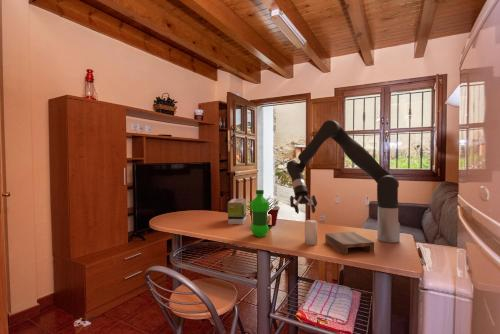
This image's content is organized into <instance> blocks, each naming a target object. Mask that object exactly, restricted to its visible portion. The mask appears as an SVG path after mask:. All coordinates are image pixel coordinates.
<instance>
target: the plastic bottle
mask: <svg viewBox="0 0 500 334" xmlns="http://www.w3.org/2000/svg"><path fill="white" fill-rule="evenodd" d="M264 191H265V190H264V189H256V190H255V194H256V196H255V198H253V199H252V200H251V201H250V205H249V207H250V210H251V211H252V224H251V227H250V231H251V232H252V234H254V235H255V237H258V238H261V237H266V235H267V234H268V233H269V231H270V226H268V224H267V210H268V209H269V205H270V202H269V201H268V200H267V198H265V197H264V195H263V194H264Z"/></svg>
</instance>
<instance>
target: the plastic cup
mask: <svg viewBox="0 0 500 334" xmlns="http://www.w3.org/2000/svg"><path fill="white" fill-rule="evenodd" d="M274 206H275V207H274V208H273V209H271V210H270V211H269V212H268V214H271V215H272V226H271V227H275V226H276V225H277V220H278V214H279V210H280V206H278V205H274Z"/></svg>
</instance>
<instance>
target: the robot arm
mask: <svg viewBox="0 0 500 334" xmlns="http://www.w3.org/2000/svg"><path fill="white" fill-rule="evenodd" d="M329 138H330V139H332V140H333V141H334V142H336V143H337V144H338V145H339V147H340V148H341V150H342V151H343V152H344V154H345V156H347V158H348V159H349V160H350V161H351V162H352V163H353V164H354V165H356V167H358V168H359V169H361V170H362V171H363V172H365V173H367V174H368V175H369V177H371V178H372V179H373V180H374V182H376V201H377V240H378V241H379V242H383V243H389V244H391V243H392V244H394V243H398V242H400V239H401V238H400V236H401V235H400V234H401V224H400V222H399V186H400V185H399V184H400V182H399V180H398V179H397V177H395V176H394V175H393V174H391V173H390V172H388V170H386V169H385V168H384V167H382V165H380V164H379V162H378V161H377V160H376V159H375V158H374V156H372V154H371V153H370V152H368V151H367V150H366V148H364V146H362V145H361V144H360V143H359V142H357V140H355V139H354V138H353V137H351V136H350V135H349V134H348V133H347V131H345V129H344V128H343V127H342V125H341V124H340V123H339V122H338V121H336V120H332V119H329V120H326V121H324V123H322V125H321V126H320V127H319V129H318V131H317V133H316V134H315V135H314V137H313V138H312V139H311V141H310V142H309V143H308V144H307V145H306V146H305V148H304V149H303V150H302V151H300V152H299V154H298V156H297V158H298V161H300V162H298V161H296V160H289V161H287V164H286V170H287V173H288V175H289V177H290V178H291V183H292V190H293V193H294V196H293V195H290V197H289V202H290V203H289V204H290V207H291V208H294V211H295V213H296V214H299V212H300V210H299V204H300V205H307V206H309V207H310V209H311V212H312V214H315V212H316V207H317V205H318V202H317V199H316V196H315V195H314V194H313V195H312V196H311V195H309V192H308V187H307V183H306V182H305V179H304V175H303V174H302V173H303V172H304V171H305V168H306V166H307V165H308V163H309V162H310V161H311V160H312V159H313V157H314V156H315V155H316V154H317V152H318V151H319V149H320V147H321V146H322V144H324V142H325V141H327V140H328V139H329ZM294 200H295V203H294Z"/></svg>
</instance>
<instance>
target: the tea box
mask: <svg viewBox="0 0 500 334" xmlns="http://www.w3.org/2000/svg"><path fill="white" fill-rule="evenodd" d="M246 203H247V200H246V198H231V199H230V200H229V201H227V222H228V223H227V224H228V225H231V224H239V226H241V225H242V226H243V225H244V223H245V222H246V220H247V204H246Z"/></svg>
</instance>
